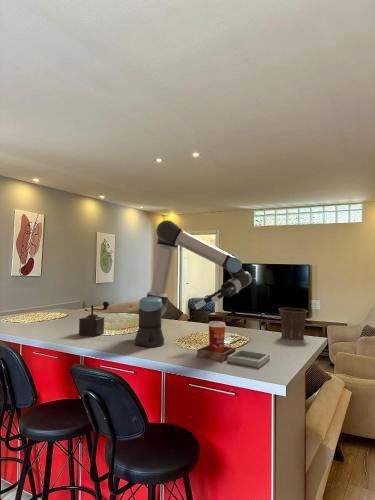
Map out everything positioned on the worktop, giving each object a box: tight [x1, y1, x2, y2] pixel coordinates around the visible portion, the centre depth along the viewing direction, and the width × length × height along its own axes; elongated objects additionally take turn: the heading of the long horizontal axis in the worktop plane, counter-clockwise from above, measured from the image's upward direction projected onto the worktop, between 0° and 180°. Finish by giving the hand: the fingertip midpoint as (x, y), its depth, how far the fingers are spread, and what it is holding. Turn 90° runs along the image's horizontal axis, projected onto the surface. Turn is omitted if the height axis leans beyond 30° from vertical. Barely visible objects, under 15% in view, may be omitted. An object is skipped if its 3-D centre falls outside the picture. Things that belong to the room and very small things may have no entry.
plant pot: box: [278, 307, 309, 341], centre depth 198 cm, size 16×16×16 cm
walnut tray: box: [196, 344, 236, 362], centre depth 156 cm, size 13×13×3 cm
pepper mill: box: [78, 301, 110, 338], centre depth 197 cm, size 16×11×18 cm
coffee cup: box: [207, 320, 227, 353], centre depth 156 cm, size 8×8×15 cm
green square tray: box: [227, 349, 271, 369], centre depth 148 cm, size 14×14×2 cm
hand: (204, 303), depth 165 cm, fingers open, 13 cm apart
